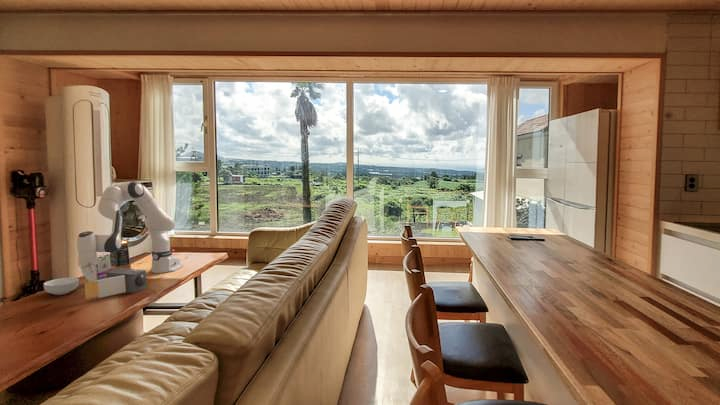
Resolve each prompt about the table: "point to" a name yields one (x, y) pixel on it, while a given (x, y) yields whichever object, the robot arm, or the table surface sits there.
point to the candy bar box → (102, 266)
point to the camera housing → (130, 278)
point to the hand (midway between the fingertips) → (89, 285)
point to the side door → (105, 287)
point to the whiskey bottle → (121, 257)
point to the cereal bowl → (61, 285)
